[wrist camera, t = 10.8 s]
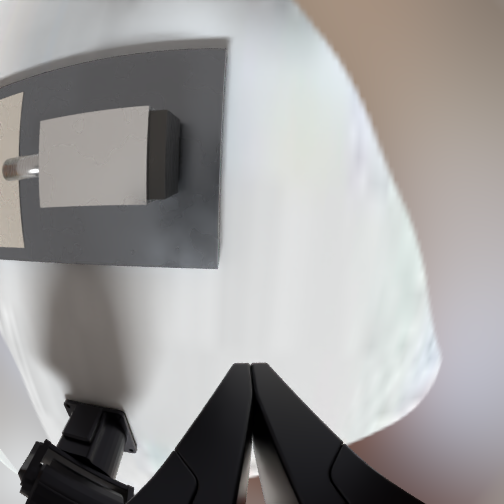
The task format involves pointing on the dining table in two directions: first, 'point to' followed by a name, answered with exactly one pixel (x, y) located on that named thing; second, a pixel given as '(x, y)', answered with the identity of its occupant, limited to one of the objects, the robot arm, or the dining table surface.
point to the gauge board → (120, 216)
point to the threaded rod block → (103, 158)
